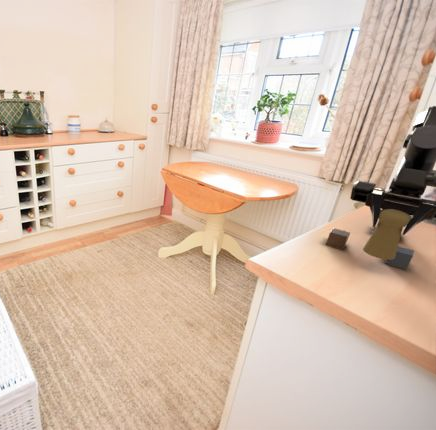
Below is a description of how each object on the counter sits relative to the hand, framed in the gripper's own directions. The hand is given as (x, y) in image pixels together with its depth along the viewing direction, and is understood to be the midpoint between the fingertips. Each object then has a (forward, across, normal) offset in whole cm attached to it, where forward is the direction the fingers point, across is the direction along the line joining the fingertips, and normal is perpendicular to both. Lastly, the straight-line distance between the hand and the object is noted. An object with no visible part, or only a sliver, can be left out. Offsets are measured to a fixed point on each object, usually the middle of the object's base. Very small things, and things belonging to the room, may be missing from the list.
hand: (388, 230), depth 67 cm
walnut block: (+2, -9, +14) cm, 17 cm away
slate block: (+2, +4, +14) cm, 15 cm away
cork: (+4, 0, +6) cm, 7 cm away
